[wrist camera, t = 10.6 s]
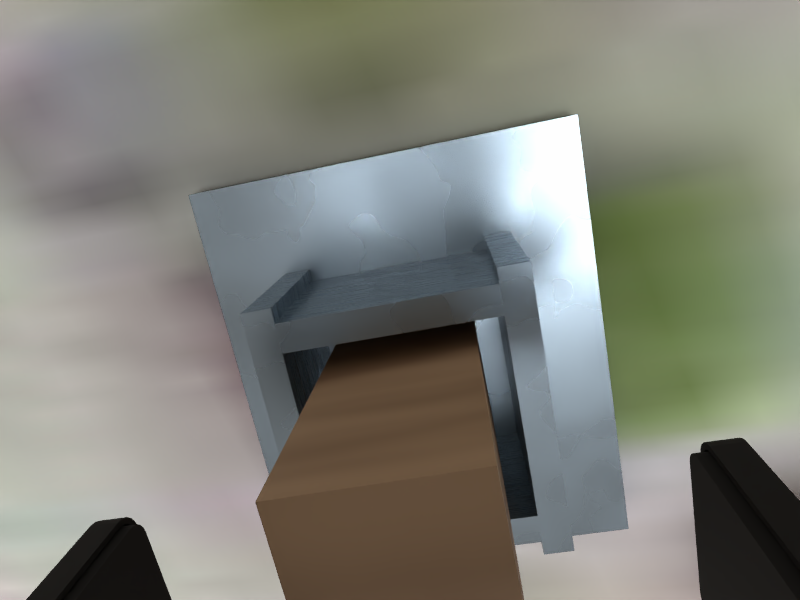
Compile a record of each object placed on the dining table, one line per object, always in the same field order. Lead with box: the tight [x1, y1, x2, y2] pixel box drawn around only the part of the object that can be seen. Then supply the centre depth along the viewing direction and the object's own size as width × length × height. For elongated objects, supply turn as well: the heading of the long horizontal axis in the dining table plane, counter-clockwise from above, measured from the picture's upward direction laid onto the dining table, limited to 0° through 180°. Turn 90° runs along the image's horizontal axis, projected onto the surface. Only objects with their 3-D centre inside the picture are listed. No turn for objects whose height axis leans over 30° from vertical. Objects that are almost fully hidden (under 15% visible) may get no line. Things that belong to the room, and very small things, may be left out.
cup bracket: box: [189, 114, 628, 554], centre depth 18 cm, size 14×12×5 cm
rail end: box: [256, 321, 524, 600], centre depth 15 cm, size 4×4×10 cm
